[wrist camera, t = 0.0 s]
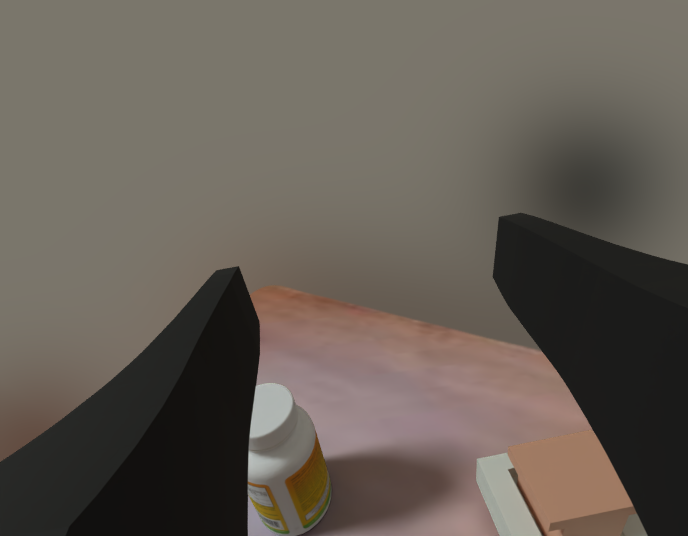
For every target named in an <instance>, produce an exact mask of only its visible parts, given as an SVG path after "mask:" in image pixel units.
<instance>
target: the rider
mask: <svg viewBox="0 0 688 536" xmlns="http://www.w3.org/2000/svg"><path fill="white" fill-rule="evenodd" d="M508 457H509V459H510V461H511V463H512V464H513V466H514V468H515V470H516V472H517V474H518V480H517V485H518V487H519V489H520V491H521V493H522V495H523V497H524V499H525V501H526V503H527V505H528V506H529V508H530V510H531V512H532V514H533V516H534V518H535V520H536V522H537V524H538V526H539V528H540V530H541V532H542V534H543V535H544V536H620V535H621V533H622V531H623V528H624V526H625V524H626V521H627V519H628V517H629V515H632V514H637V513H636V511H635V509H634V506H633V504H632V502H631V500H630V498H629V496H628V494H627V492H626V490H625V489H624V487H623V485H622V483H621V481H620V479H619V477H618V475H617V473H616V471H615V469H614V467H613V466H612V464H611V462H610V460H609V458H608V456H607V454H606V452H605V450H604V449H603V447H602V445H601V443H600V442H599V440H598V438H597V436H596V435H595V434H594V432H593V431H592V430H588V431H583V432H578V433H573V434H568V435H563V436H558V437H553V438H548V439H544V440H539V441H534V442H529V443H524V444H519V445H514V446H509V447H508Z"/></svg>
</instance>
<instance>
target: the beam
mask: <svg viewBox="0 0 688 536" xmlns="http://www.w3.org/2000/svg"><path fill="white" fill-rule="evenodd" d="M517 480H518V474H517V472H516V470H515V468H514V466H513V464H512V463H511V461H510V459H509V457H508V453H504V454H499V455H494V456H489V457H484V458H479V459H477V472H476V481H477V484H478V486H479V488H480V491H481V493H482V495H483V498H484V500H485V502H486V505H487V507H488V509H489V512H490V514H491V517H492V519H493V521H494V524H495V526H496V528H497V531H498V533H499V535H500V536H544V535H543V534H542V532H541V530H540V528H539V526H538V524H537V522H536V520H535V518H534V516H533V514H532V512H531V510H530V508H529V506H528V505H527V503H526V501H525V499H524V497H523V495H522V493H521V491H520V489H519V487H518V485H517ZM620 536H647V534H646V531H645V529H644V527H643V525H642V523H641V521H640V519H639V517H638V515H637V514H632V515H629V517H628V519H627V521H626V524H625V526H624V528H623V531H622V533H621V535H620Z"/></svg>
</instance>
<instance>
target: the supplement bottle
mask: <svg viewBox="0 0 688 536" xmlns="http://www.w3.org/2000/svg"><path fill="white" fill-rule="evenodd" d="M331 493H332V488H331V481H330V477H329V473H328V470H327V467H326V464H325V460H324V457H323V454H322V451H321V447H320V444H319V441H318V437H317V434H316V431H315V427H314V425H313V422H312V420H311V418H310V416H309V415H308V414H307V412H306V411H305V410H304V409H303V408H301V407H300V406H298V405H296V403H295V401H294V398H293V395H292V393H291V392H290V391H289V390H288V389H287V388H286V387H284V386H283V385H280V384H276V383H266V384H261V385H258V386H256V389H255V396H254V404H253V412H252V419H251V427H250V438H249V457H248V495H249V497H250V499H251V501H252V503H253V505H254V507H255V509H256V511H257V513H258V515H259V517H260V518H261V520H262V522H263V523H264V525H265V526H266V527H267V528H268V529H269V530H270V531H272V532H273V533H275V534H277V535H280V536H297V535H300V534H303V533H305V532H307V531H309V530H310V529H312V528H313V527H314V526H315V525H316V524H317V523H318V522H319V521H320V520H321V519H322V517H323V516H324V515H325V513H326V511H327V509H328V507H329V504H330V500H331Z"/></svg>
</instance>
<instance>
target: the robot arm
mask: <svg viewBox="0 0 688 536" xmlns="http://www.w3.org/2000/svg"><path fill="white" fill-rule="evenodd" d="M493 278H494V280H495V282H496V284H497V286H498V288H499V290H500V292H501V294H502V296H503V297H504V299H505V301H506V303H507V304H508V306H509V307H510V309H511V310H512V312H513V313H514V314H515V316H516V317H517V318H518V320H519V321H520V322H521V324H522V325H523V327H524V328H525V329H526V331H527V332H528V333H529V334H530V336H531V337H532V338H533V340H534V341H535V342H536V344H537V345H538V346H539V348H540V349H541V350H542V352H543V353H544V354H545V356H546V357H547V358H548V360H549V361H550V362H551V364H552V365H553V366H554V368H555V369H556V370H557V372H558V373H559V375H560V376H561V378H562V379H563V380H564V382H565V383H566V385H567V387H568V388H569V390H570V392H571V393H572V395H573V397H574V398H575V400H576V402H577V403H578V405H579V407H580V408H581V410H582V412H583V413H584V415H585V417H586V418H587V420H588V422H589V424H590V426H591V427H592V429H593V431H594V433H595V434H596V436H597V438H598V440H599V442H600V443H601V445H602V447H603V449H604V450H605V452H606V454H607V456H608V458H609V460H610V462H611V464H612V466H613V467H614V469H615V471H616V473H617V475H618V477H619V479H620V481H621V483H622V485H623V487H624V489H625V490H626V492H627V494H628V496H629V498H630V500H631V502H632V504H633V506H634V509H635V511H636V513H637V515H638V517H639V519H640V521H641V523H642V525H643V527H644V529H645V531H646V534H647V536H688V265H687V264H683V263H678V262H675V261H670V260H666V259H663V258H659V257H655V256H652V255H648V254H645V253H642V252H639V251H635V250H632V249H629V248H625V247H622V246H619V245H615V244H612V243H610V242H607V241H604V240H601V239H598V238H595V237H592V236H589V235H586V234H584V233H581V232H578V231H575V230H572V229H569V228H567V227H564V226H561V225H558V224H555V223H553V222H549V221H546V220H544V219H541V218H538V217H535V216H531V215H527V214H523V213H518V214H512V215H508V216H502V217H499V222H498V231H497V241H496V251H495V261H494V270H493ZM259 356H260V324H259V319H258V317H257V314H256V311H255V308H254V306H253V303H252V300H251V298H250V295H249V292H248V290H247V287H246V284H245V282H244V279H243V276H242V274H241V271H240V268H239V266H238V267H232V268H227V269H222V270H217V271H216V272H215V273H214V274H213V275H212V276H211V277H210V278H209V279H208V280H207V281H206V282H205V284H204V285H203V286H202V287H201V288H200V289H199V291H198V292H197V293H196V294H195V295H194V297H193V298H192V299H191V300H190V301H189V302H188V303H187V305H186V306H185V307H184V308H183V309H182V310H181V312H180V313H179V314H178V315H177V316H176V317H175V319H174V320H173V321H172V322H171V323H170V324H169V325H168V326H167V327H166V328H165V329H164V330H163V331H162V332H161V333H160V334H159V335H158V336H157V337H156V338H155V340H153V342H151V343H150V345H149V346H148V347H147V348H146V349H145V350H144V351H143V352H142V353H141V354H139V356H138V357H137V358H135V359H134V360H133V361H132V362H131V363H130V364H129V365H128V366H127V367H125V368H124V369H123V370H122V371H121V372H120V373H119V374H118V375H116V377H114V378H113V379H112V380H111V381H110V382H108V383H107V384H106V385H105V386H104V387H102V388H101V389H100V390H99V391H98V392H96V393H95V394H94V395H92V396H91V397H90V398H88V399H87V400H86V401H85V402H83V403H82V404H81V405H79V406H78V407H77V408H76V409H74V410H73V411H72V412H70V413H69V414H68V415H67V416H65V417H64V418H63V419H62V420H60V421H59V422H58V423H56V424H55V425H53V426H52V427H51V428H49V429H48V430H46V431H45V432H44V433H42V434H41V435H39V436H38V437H37V438H35V439H34V440H32V441H31V442H29V443H28V444H26V445H25V446H24V447H22V448H21V449H19V450H18V451H16V452H15V453H13V454H12V455H10V456H9V457H7V458H6V459H4V460H3V461H1V462H0V536H248V457H249V438H250V427H251V419H252V412H253V404H254V396H255V389H256V381H257V373H258V365H259Z"/></svg>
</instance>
